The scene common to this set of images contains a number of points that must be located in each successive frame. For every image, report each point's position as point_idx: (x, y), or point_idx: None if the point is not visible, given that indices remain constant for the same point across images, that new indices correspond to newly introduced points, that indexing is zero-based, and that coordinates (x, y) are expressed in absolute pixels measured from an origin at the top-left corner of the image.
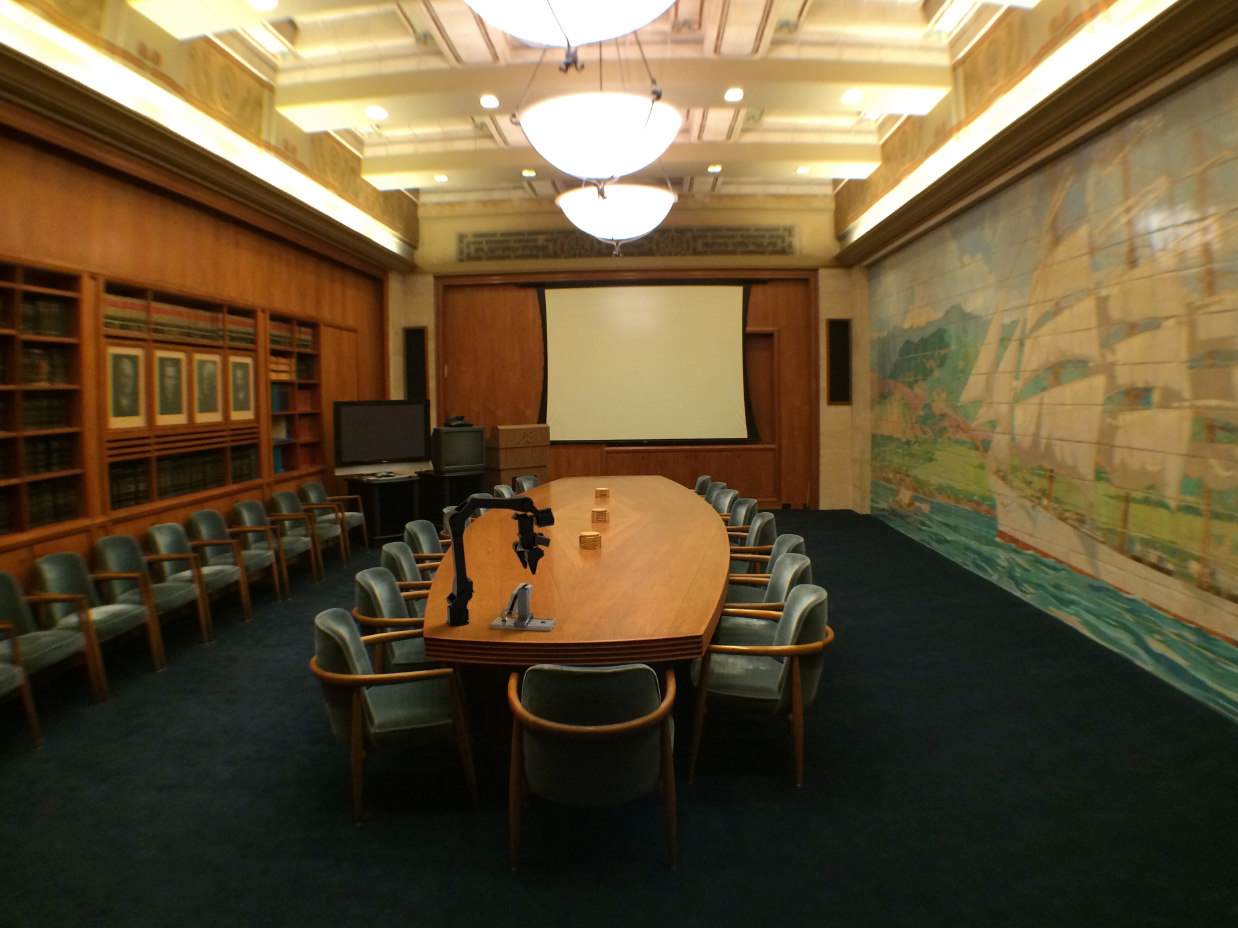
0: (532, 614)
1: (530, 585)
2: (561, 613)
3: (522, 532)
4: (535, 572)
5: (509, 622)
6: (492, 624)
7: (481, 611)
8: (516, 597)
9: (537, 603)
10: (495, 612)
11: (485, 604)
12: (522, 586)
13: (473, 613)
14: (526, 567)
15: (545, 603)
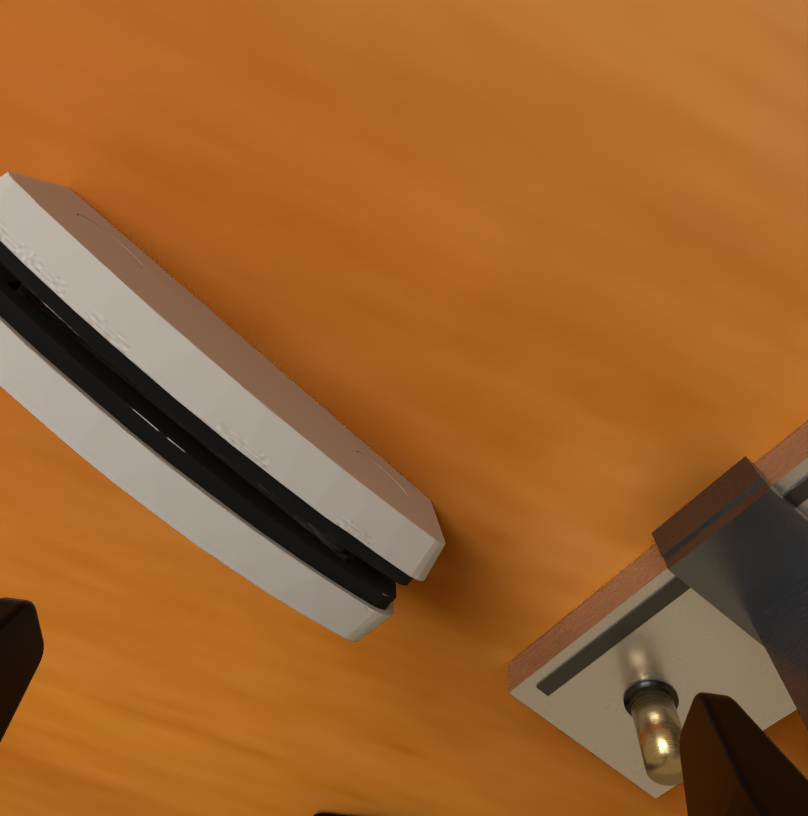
0: (791, 505)
1: (70, 275)
2: (734, 43)
3: None
4: (766, 744)
5: (727, 688)
6: (666, 790)
7: (196, 666)
8: (407, 581)
9: (189, 138)
10: None
11: (18, 576)
12: (188, 469)
13: (218, 723)
14: (18, 634)
15: (233, 43)
